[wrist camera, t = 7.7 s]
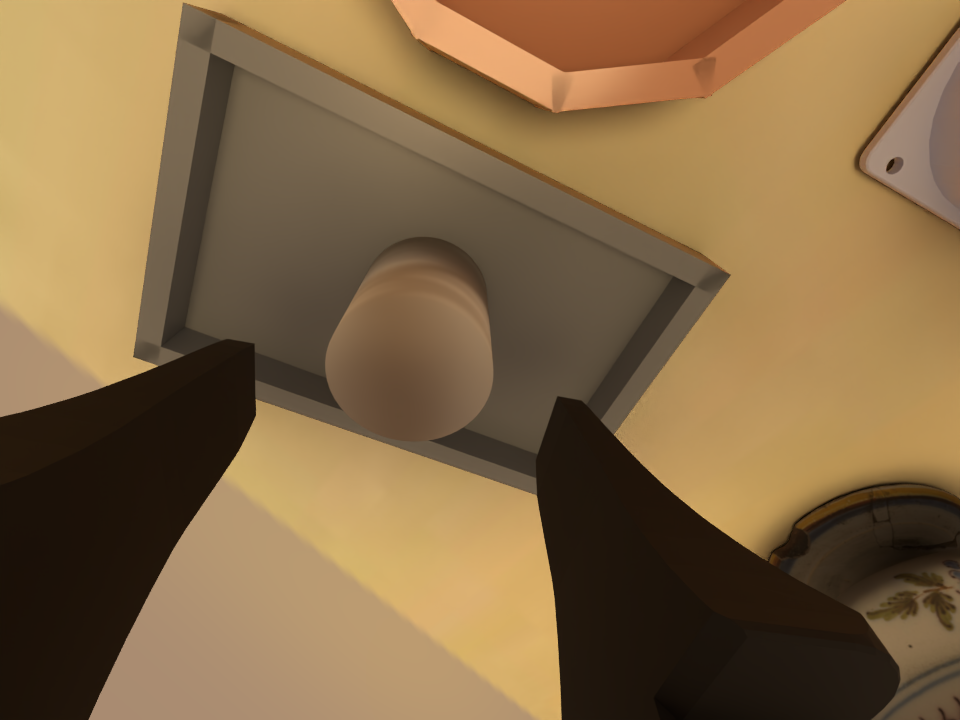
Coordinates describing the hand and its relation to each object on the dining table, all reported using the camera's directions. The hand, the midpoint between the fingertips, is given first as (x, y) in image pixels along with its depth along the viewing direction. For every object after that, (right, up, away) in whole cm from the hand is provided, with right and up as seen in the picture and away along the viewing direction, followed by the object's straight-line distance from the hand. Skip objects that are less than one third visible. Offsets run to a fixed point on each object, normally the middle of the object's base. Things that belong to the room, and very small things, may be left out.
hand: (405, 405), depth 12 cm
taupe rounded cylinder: (0, +3, +6) cm, 7 cm away
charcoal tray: (0, +4, +7) cm, 7 cm away
